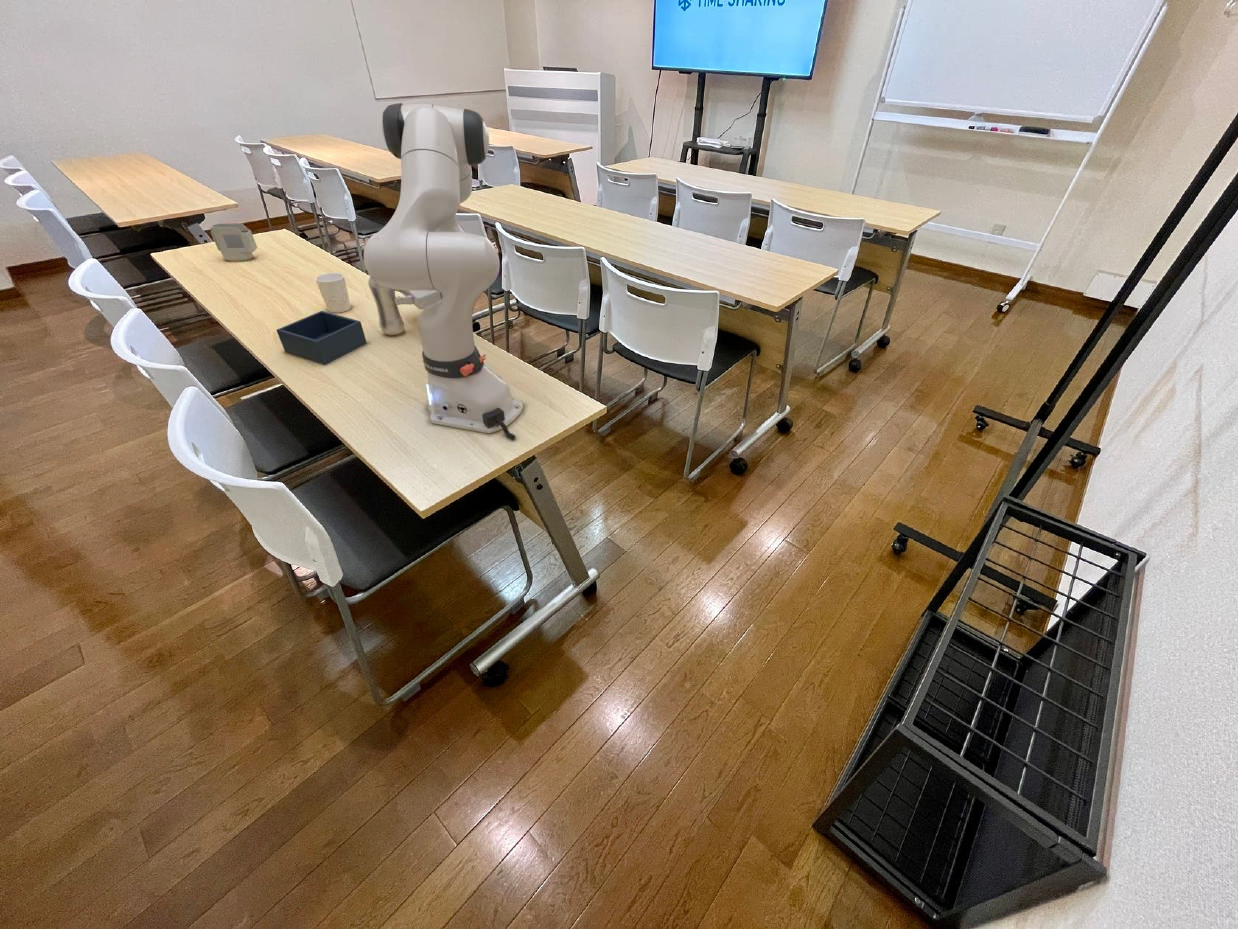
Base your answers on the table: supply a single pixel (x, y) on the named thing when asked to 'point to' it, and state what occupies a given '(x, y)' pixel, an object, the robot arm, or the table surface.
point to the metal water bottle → (386, 309)
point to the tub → (322, 337)
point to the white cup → (334, 292)
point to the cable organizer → (233, 241)
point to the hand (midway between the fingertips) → (389, 295)
